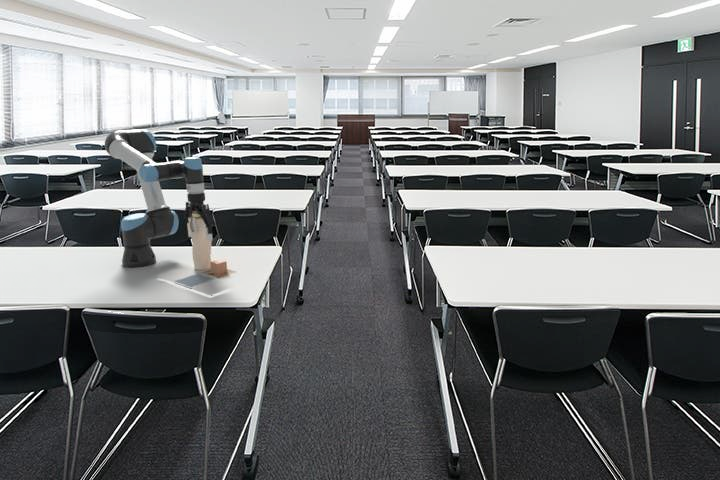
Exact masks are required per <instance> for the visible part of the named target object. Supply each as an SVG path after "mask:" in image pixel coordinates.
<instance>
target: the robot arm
mask: <svg viewBox="0 0 720 480" xmlns="http://www.w3.org/2000/svg"><path fill="white" fill-rule="evenodd" d="M104 148H105V150H106V152H107V154H108V155H110V156H111V157H112V158H114V159H118V160H120V161H122V162H123V163H125V164H127V165H128V166H130V167H131V168H132V169H134V170H136V174H137V178H138V179H139V183H140V187H141V190H142V191H141V192H142V195H143V197H144V201H145V204H146V207H147V210H146V211H145V213H143V212H140V213H133V214H129V215H126V216H124V217H123V218H122V219H121V221H120V225H121V227H120V228H121V233H122V241H123V247H124V248H123V255H122V259H121V263H122V266H123V267H126V268H139V267H142V268H143V267H146V266H149V265H153V264H154V263H156V262H157V258H156V254H155V252H154V250H153V248H152V245H151V240H152V239H153V240H154V239H157V238H162V237H168V236H171V235H173V234H176V233H177V231H178V228H179V223H180V222H179V216H178V214H177V213H176V212H175V210H171V207H170V206H169V205H167V204H166V200H165V198H164V195H163V191H162V187H161V184H160V182H161V181H166V180H173V179H185V184H186V192H187V195H186V197H187V201H186V202H185V209H184V214H183V218H182V219H183V221H184V222H185V223H186V228H187V234H188V236H187V237H188V238H191V234H190V227H189V220H188V218H191V216H192V213H193V211H192V210H194V211H197V213H198V214H199V215H200V216H201V217H202V219H203V221H204V223H205V224H206V227H205V230H206V240H207V241H211V242H212V241H214V240H213V226H215V225H216V223H215V221H214V218H213V215H212V213H211V210H210V205H209V204H207V203H206V204H205V203H204V202H205V201H206V193H205V183H204V169H203V163H202V159H201V157H198V156H197V157H196V156H195V157H194V156H191V157H185V158H184V159H183V160H179V159H178V160H171V161H167V162H156V161H154V160H153V157H154V156H155V152H156V150H157V141H156V139H155V136H154V134H153V133H151V132H150V131H149V130H148V129H139V128H138V129H127V130H115V131H113V132H110V133H109V134H108V135H107V136H106V137H105V141H104Z"/></svg>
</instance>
